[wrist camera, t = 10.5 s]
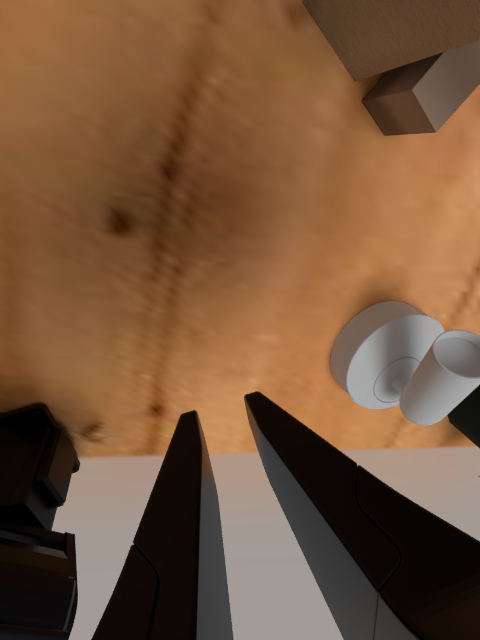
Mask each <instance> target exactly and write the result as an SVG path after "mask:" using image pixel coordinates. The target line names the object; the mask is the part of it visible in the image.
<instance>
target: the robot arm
mask: <svg viewBox="0 0 480 640" xmlns="http://www.w3.org/2000/svg"><path fill="white" fill-rule="evenodd" d="M244 401H245V406H246V411H247V416H248V420H249V424H250V427H251V430H252V433H253V436H254V439H255V442H256V445H257V448H258V451H259V454H260V457H261V459H262V463H263V466H264V469H265V472H266V474H267V477H268V479H269V482H270V484H271V486H272V488H273V490H274V492H275V494H276V497H277V499H278V501H279V503H280V505H281V507H282V509H283V511H284V514H285V516H286V518H287V520H288V522H289V524H290V526H291V529H292V531H293V533H294V535H295V537H296V539H297V541H298V543H299V546H300V548H301V550H302V552H303V554H304V556H305V558H306V560H307V563H308V565H309V567H310V569H311V571H312V573H313V575H314V577H315V579H316V582H317V584H318V586H319V588H320V590H321V592H322V594H323V596H324V599H325V601H326V603H327V605H328V607H329V609H330V611H331V613H332V615H333V618H334V620H335V622H336V624H337V626H338V628H339V630H340V632H341V635H342V637H343V639H344V640H480V541H478V540H476V539H475V538H473V537H471V536H470V535H468V534H466V533H465V532H463V531H461V530H460V529H458V528H456V527H454V526H453V525H451V524H449V523H448V522H446V521H444V520H443V519H441V518H439V517H438V516H436V515H434V514H433V513H431V512H429V511H428V510H426V509H424V508H423V507H421V506H419V505H418V504H416V503H414V502H413V501H411V500H410V499H408V498H406V497H405V496H403V495H401V494H400V493H398V492H397V491H395V490H394V489H392V488H391V487H389V486H388V485H387V484H385V483H384V482H382V481H381V480H379V479H378V478H377V477H375V476H374V475H372V474H371V473H370V472H368V471H367V470H365V469H364V468H363V467H361V466H360V465H359V466H357V463H356V462H354V461H353V460H352V459H350V458H349V457H348V456H346V455H345V454H344V453H342V452H341V451H339V450H338V449H337V448H335V447H334V446H333V445H331V444H330V443H328V442H327V441H326V440H324V439H323V438H322V437H320V436H319V435H318V434H316V433H315V432H313V431H312V430H311V429H309V428H308V427H307V426H305V425H304V424H303V423H301V422H300V421H298V420H297V419H296V418H294V417H293V416H292V415H290V414H289V413H288V412H286V411H285V410H283V409H282V408H281V407H279V406H278V405H277V404H275V403H274V402H273V401H271V400H270V399H268V398H267V397H266V396H264V395H263V394H262V393H260V392H258V391H257V392H253V393H250V394H246V395H245V396H244ZM36 411H39V412H41V413H37V412H36ZM79 467H80V462H79V460H78V458H77V457H76V451H75V449H74V447H73V446H72V444H71V442H70V441H69V439H68V437H67V436H66V434H65V432H64V431H63V429H61V428H60V427H58V425H57V423H56V422H55V420H54V418H53V417H52V415H51V413H50V412H49V410H48V409H47V407H46V406H44V405H41V404H37V405H33V406H29V407H25V408H22V409H18V410H15V411H11V412H7V413H4V414H0V640H68V639H69V636H70V632H71V630H72V627H73V623H74V619H75V615H76V609H77V601H78V590H77V570H76V550H75V535H74V534H71V533H67V532H65V533H64V534H63V533H59V532H55V531H52V525H53V522H54V518H55V514H56V510H57V507H60V506H62V505H63V504H64V502H65V500H66V496H67V492H68V487H69V483H70V478H71V474H72V473H75V472H77V471H78V470H79ZM133 543H134V545H132V546H131V548H130V550H129V553H128V556H127V558H126V561H125V564H124V566H123V569H122V572H121V574H120V577H119V579H118V581H117V584H116V586H115V589H114V591H113V594H112V596H111V598H110V600H109V603H108V605H107V607H106V609H105V611H104V613H103V616H102V618H101V620H100V622H99V625H98V627H97V629H96V631H95V633H94V635H93V637H92V639H91V640H233V631H232V622H231V613H230V603H229V594H228V585H227V576H226V566H225V557H224V548H223V538H222V530H221V520H220V511H219V503H218V495H217V490H216V484H215V481H214V476H213V471H212V467H211V463H210V459H209V454H208V450H207V445H206V441H205V437H204V433H203V430H202V426H201V423H200V420H199V416H198V413H197V411H195V410H193V411H190V412H186V413H183V414H182V415H181V416H180V418H179V421H178V423H177V426H176V429H175V431H174V434H173V437H172V439H171V442H170V445H169V447H168V450H167V453H166V455H165V458H164V461H163V463H162V466H161V469H160V471H159V474H158V476H157V479H156V482H155V485H154V487H153V490H152V492H151V495H150V498H149V500H148V503H147V506H146V508H145V511H144V514H143V516H142V519H141V522H140V524H139V527H138V530H137V532H136V535H135V538H134V540H133Z"/></svg>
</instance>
